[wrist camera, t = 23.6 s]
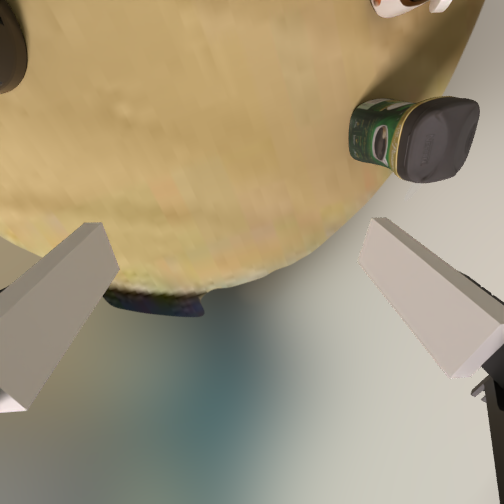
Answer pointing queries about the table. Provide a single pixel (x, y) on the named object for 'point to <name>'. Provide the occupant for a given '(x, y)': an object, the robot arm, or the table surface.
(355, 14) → the table surface
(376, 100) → the coffee jar
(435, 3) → the spread jar
